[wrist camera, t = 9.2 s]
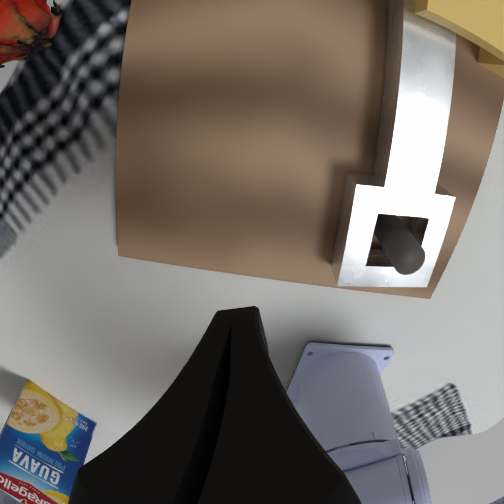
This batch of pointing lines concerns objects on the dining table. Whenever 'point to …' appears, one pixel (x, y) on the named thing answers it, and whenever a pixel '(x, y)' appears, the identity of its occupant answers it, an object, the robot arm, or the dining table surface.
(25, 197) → the dining table surface
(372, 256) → the link
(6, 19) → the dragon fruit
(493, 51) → the block
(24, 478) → the beverage box
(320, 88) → the board
